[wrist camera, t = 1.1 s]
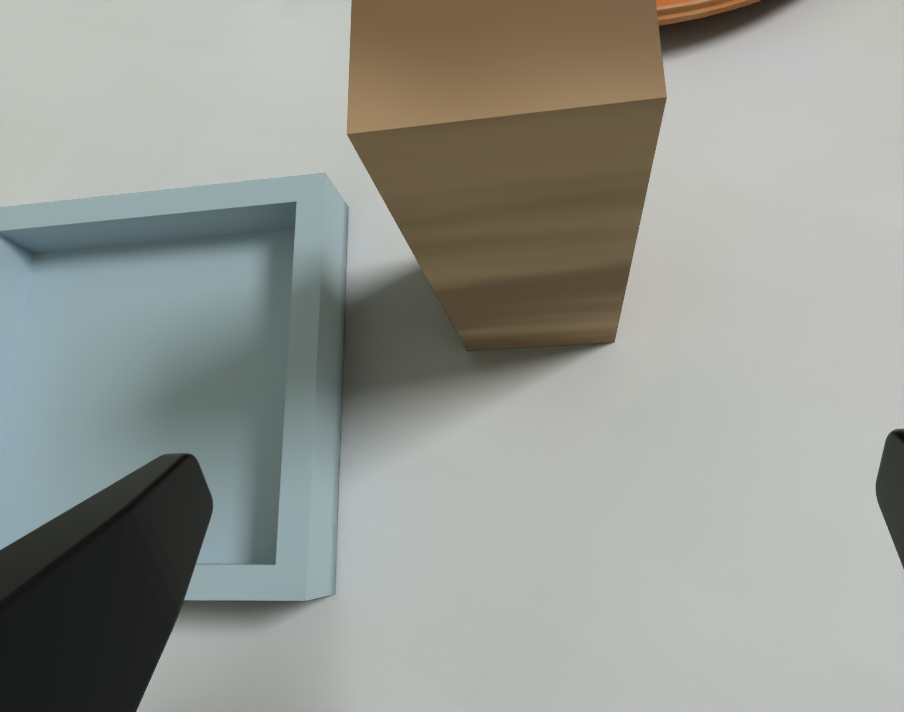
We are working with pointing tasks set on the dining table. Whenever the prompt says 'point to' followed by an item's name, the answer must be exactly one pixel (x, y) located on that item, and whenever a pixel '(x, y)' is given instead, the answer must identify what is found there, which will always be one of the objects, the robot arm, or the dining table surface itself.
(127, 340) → the tray
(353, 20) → the walnut block
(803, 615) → the dining table surface
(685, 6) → the ring
